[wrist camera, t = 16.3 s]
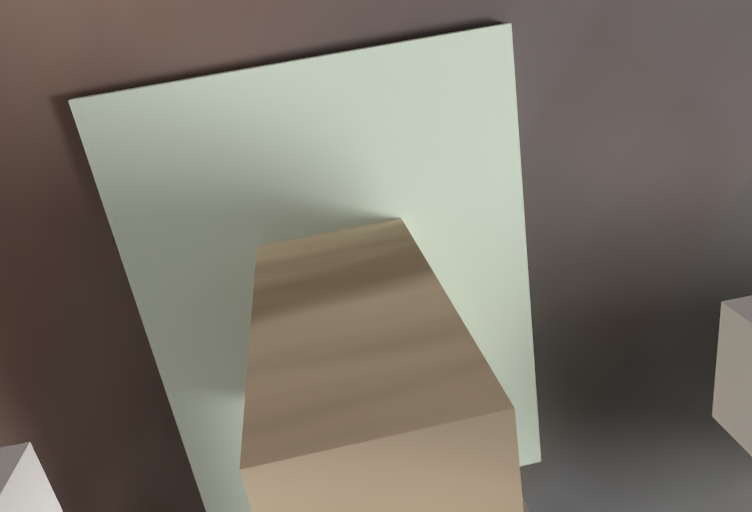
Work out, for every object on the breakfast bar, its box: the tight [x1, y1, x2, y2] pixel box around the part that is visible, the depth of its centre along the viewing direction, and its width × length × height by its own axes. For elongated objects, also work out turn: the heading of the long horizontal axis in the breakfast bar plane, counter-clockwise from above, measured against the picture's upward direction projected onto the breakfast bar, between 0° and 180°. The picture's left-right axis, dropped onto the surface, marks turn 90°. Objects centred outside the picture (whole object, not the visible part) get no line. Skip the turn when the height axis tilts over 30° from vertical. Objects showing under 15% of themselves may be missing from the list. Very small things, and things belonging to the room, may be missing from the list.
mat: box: [68, 23, 541, 512], centre depth 18 cm, size 14×11×1 cm
